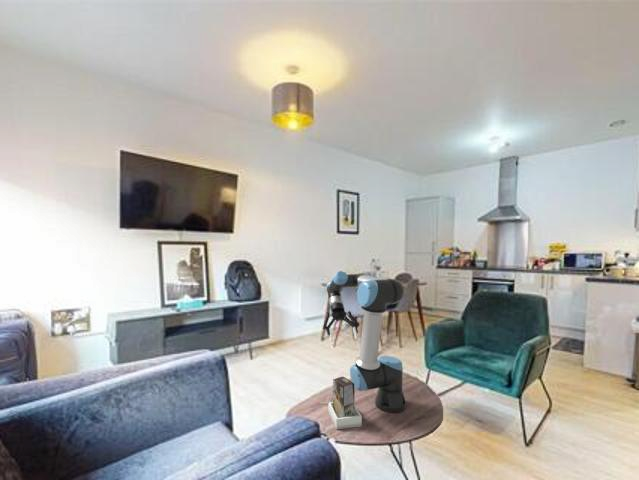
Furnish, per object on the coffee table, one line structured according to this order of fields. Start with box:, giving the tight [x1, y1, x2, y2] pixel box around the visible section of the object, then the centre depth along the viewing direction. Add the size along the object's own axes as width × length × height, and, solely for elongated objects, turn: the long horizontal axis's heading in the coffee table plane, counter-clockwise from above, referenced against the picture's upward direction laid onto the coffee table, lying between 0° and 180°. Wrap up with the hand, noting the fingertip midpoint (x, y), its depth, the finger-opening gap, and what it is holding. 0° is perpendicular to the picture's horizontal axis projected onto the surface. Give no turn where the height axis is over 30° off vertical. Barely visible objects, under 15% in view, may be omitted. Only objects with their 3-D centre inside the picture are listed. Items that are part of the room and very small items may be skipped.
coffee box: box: [332, 376, 356, 418], centre depth 148 cm, size 9×6×16 cm
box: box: [328, 401, 363, 430], centre depth 147 cm, size 12×15×4 cm
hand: (344, 339), depth 169 cm, fingers open, 13 cm apart
